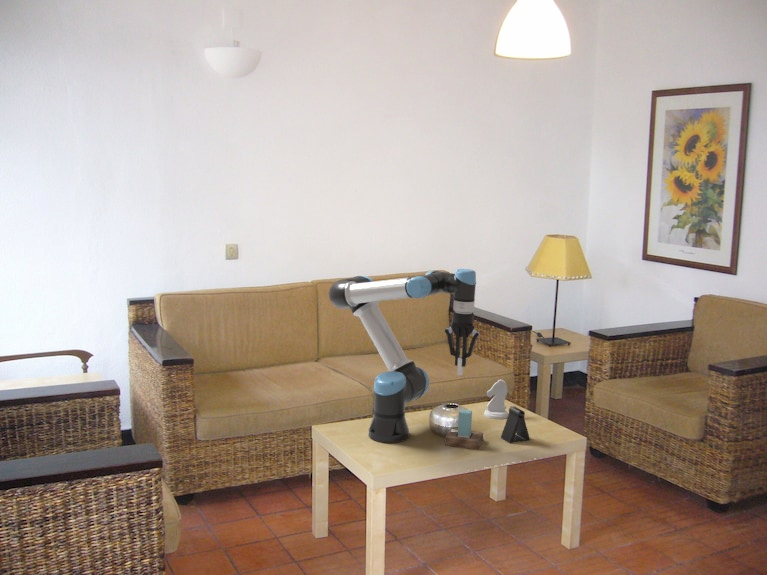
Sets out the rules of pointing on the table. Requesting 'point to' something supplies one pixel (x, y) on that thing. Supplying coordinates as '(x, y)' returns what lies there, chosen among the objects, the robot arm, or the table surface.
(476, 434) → the board
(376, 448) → the table surface
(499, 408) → the chess piece
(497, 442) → the table surface
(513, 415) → the picture frame
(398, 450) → the table surface
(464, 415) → the peg
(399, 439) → the robot arm
